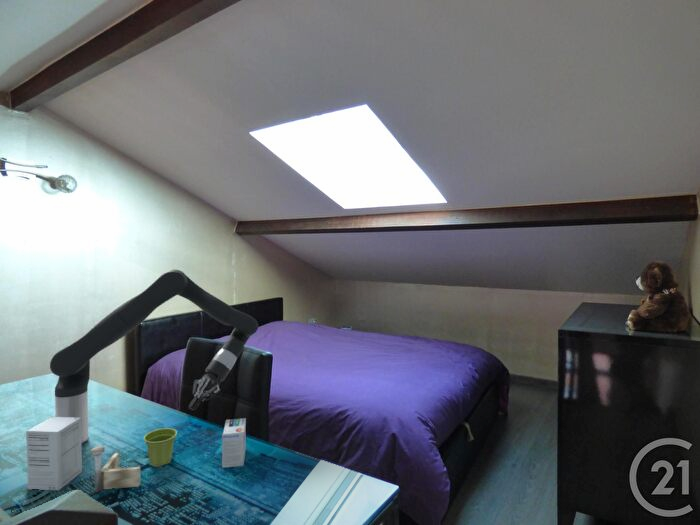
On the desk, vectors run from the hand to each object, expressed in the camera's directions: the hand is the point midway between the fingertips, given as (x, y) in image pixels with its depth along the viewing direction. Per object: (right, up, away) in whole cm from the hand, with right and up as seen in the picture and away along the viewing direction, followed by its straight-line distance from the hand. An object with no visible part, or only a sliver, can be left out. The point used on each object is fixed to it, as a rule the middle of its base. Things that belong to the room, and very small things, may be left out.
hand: (191, 409), depth 132 cm
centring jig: (-15, -14, -20) cm, 29 cm away
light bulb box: (+16, -14, -6) cm, 22 cm away
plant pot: (-6, -14, -8) cm, 17 cm away
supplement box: (-32, -14, -19) cm, 39 cm away
